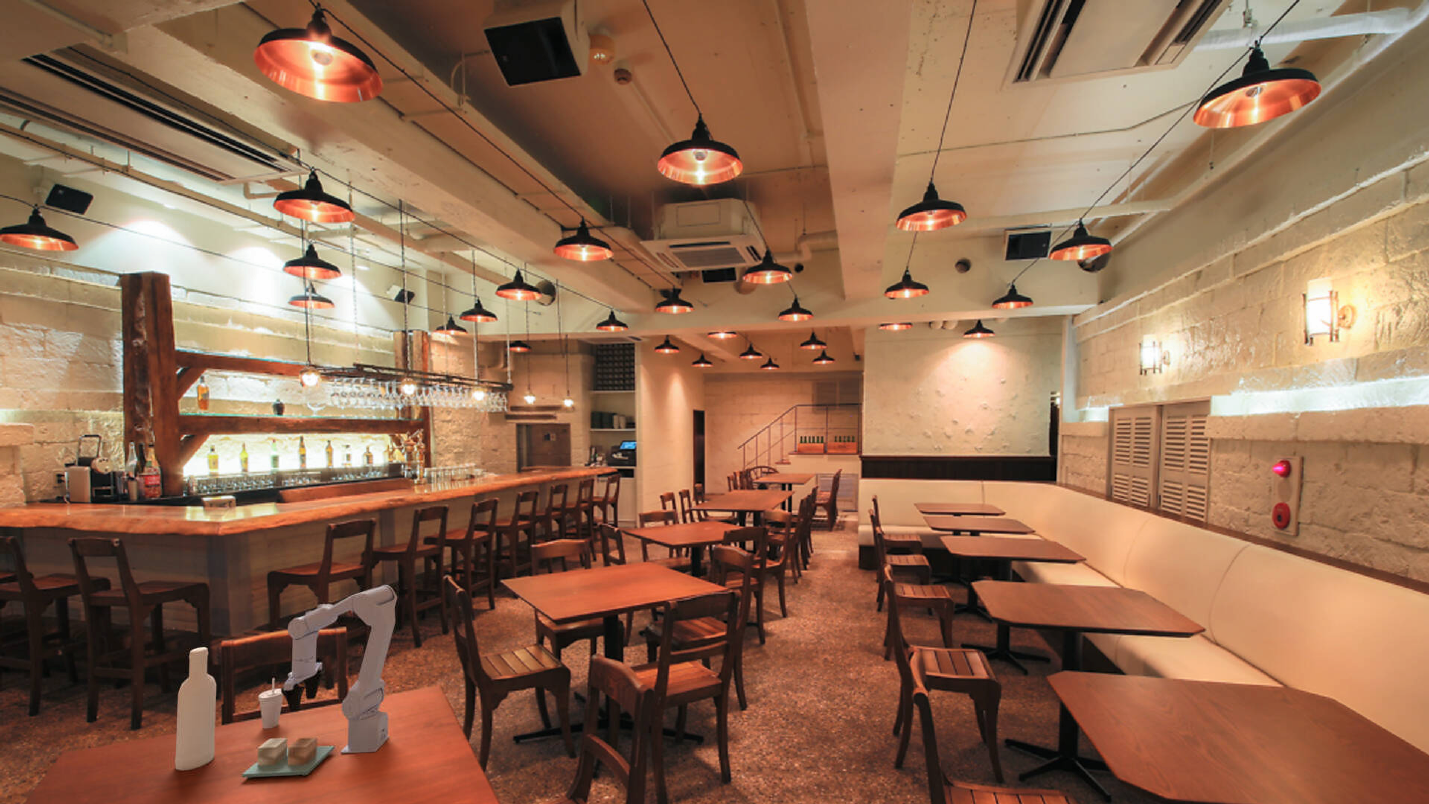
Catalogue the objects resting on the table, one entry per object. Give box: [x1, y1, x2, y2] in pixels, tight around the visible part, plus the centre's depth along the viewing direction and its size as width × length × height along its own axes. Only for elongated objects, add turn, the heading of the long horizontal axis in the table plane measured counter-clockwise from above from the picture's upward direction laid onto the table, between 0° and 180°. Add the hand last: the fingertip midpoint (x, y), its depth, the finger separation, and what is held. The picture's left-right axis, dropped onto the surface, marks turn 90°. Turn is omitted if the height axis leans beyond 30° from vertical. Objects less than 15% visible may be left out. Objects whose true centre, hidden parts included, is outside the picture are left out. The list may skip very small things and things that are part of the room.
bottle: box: [174, 647, 217, 771], centre depth 158 cm, size 8×8×30 cm
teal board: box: [241, 745, 336, 780], centre depth 155 cm, size 16×12×2 cm
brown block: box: [287, 737, 318, 765], centre depth 155 cm, size 4×4×4 cm
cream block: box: [257, 737, 288, 765], centre depth 155 cm, size 4×4×4 cm
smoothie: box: [257, 677, 284, 730], centre depth 177 cm, size 6×6×14 cm
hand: (303, 704), depth 170 cm, fingers open, 7 cm apart
